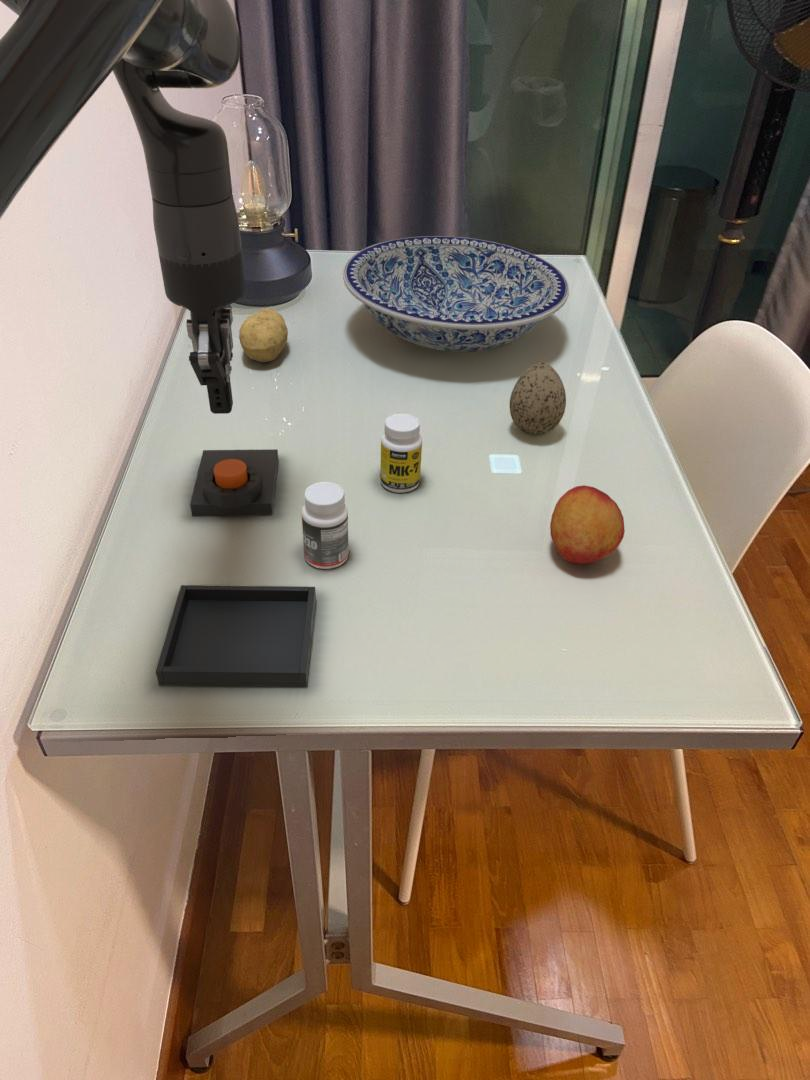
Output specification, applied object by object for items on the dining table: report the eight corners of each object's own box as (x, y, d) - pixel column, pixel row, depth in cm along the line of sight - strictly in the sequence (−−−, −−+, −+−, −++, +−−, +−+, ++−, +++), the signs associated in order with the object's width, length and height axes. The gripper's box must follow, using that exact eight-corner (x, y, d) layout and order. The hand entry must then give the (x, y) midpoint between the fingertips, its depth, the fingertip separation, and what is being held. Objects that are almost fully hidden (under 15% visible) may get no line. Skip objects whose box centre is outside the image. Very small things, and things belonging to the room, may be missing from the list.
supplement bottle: (385, 496, 95) (386, 435, 90) (376, 473, 99) (376, 413, 94) (424, 490, 96) (428, 430, 91) (414, 468, 100) (416, 408, 95)
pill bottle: (298, 548, 88) (293, 485, 82) (339, 537, 89) (336, 474, 84) (313, 575, 84) (309, 511, 79) (355, 563, 86) (354, 500, 81)
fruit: (631, 552, 89) (647, 492, 84) (591, 589, 84) (605, 528, 79) (570, 521, 93) (581, 463, 88) (529, 554, 88) (538, 495, 83)
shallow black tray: (158, 685, 73) (155, 671, 71) (183, 598, 81) (180, 584, 80) (306, 686, 73) (305, 672, 72) (316, 600, 82) (315, 586, 80)
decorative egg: (494, 429, 107) (502, 360, 101) (532, 412, 111) (541, 344, 105) (534, 453, 103) (545, 382, 97) (572, 434, 107) (584, 365, 101)
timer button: (246, 489, 91) (244, 476, 89) (213, 490, 90) (211, 477, 89) (249, 471, 93) (247, 458, 92) (217, 471, 93) (215, 458, 92)
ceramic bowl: (559, 397, 114) (570, 331, 108) (321, 374, 118) (318, 308, 112) (561, 300, 141) (570, 242, 134) (367, 283, 144) (366, 225, 138)
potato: (232, 369, 118) (227, 329, 114) (254, 336, 127) (250, 298, 123) (277, 373, 118) (274, 333, 114) (296, 340, 126) (293, 301, 122)
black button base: (272, 519, 92) (269, 494, 89) (191, 520, 91) (186, 495, 89) (278, 460, 101) (276, 436, 98) (204, 461, 100) (201, 437, 98)
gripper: (233, 273, 70) (252, 443, 81) (247, 221, 80) (262, 379, 91) (144, 273, 70) (176, 444, 81) (170, 221, 80) (195, 379, 91)
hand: (222, 409), depth 86 cm, fingers closed
